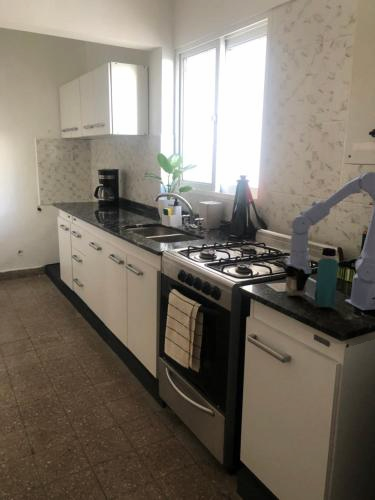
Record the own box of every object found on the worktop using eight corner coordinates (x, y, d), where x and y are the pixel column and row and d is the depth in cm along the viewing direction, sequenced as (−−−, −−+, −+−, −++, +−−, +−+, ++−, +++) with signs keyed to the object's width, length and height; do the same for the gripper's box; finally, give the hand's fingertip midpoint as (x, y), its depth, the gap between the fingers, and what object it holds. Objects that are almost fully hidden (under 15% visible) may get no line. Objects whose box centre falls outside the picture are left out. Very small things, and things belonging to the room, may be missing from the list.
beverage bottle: (338, 310, 135) (345, 250, 131) (320, 312, 133) (326, 251, 129) (326, 304, 141) (332, 246, 137) (309, 305, 139) (314, 246, 135)
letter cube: (305, 294, 146) (306, 279, 145) (292, 295, 145) (293, 280, 144) (297, 289, 151) (299, 275, 150) (285, 290, 150) (286, 276, 148)
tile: (299, 290, 155) (299, 289, 155) (277, 292, 152) (277, 290, 152) (286, 283, 163) (287, 282, 163) (265, 284, 161) (266, 283, 161)
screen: (321, 300, 145) (323, 283, 144) (314, 300, 144) (316, 283, 143) (309, 293, 153) (310, 277, 151) (302, 293, 152) (304, 277, 150)
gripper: (278, 246, 150) (275, 283, 153) (299, 255, 137) (296, 295, 140) (295, 245, 152) (292, 281, 155) (318, 254, 139) (314, 294, 142)
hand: (295, 288), depth 148 cm, fingers closed on letter cube, 5 cm apart
